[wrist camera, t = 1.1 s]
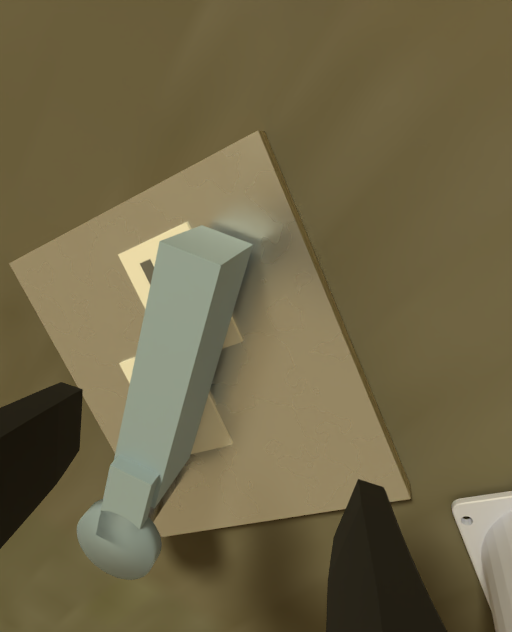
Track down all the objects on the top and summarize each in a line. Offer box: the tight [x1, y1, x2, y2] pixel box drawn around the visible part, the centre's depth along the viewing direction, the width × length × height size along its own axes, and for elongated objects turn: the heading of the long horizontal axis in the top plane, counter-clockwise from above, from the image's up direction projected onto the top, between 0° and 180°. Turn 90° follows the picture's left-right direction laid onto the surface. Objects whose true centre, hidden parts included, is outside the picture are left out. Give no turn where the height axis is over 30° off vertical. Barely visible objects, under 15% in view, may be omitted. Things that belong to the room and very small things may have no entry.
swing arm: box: [77, 225, 253, 580], centre depth 21 cm, size 16×4×4 cm, turn 163°
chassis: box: [9, 131, 411, 537], centre depth 21 cm, size 18×15×5 cm
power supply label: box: [118, 222, 243, 349], centre depth 22 cm, size 6×4×1 cm, turn 25°
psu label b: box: [119, 357, 233, 454], centre depth 24 cm, size 6×4×1 cm, turn 25°
